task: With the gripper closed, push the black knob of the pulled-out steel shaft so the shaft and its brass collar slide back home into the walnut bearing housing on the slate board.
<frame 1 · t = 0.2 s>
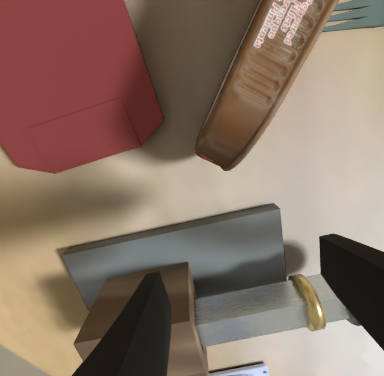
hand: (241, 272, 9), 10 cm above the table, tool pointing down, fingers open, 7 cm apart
bearing housing: (158, 289, 21), on the table
shaft: (257, 310, 17), point 5 cm above the table, slide at 8.0 cm
tin: (245, 62, 16), on the table
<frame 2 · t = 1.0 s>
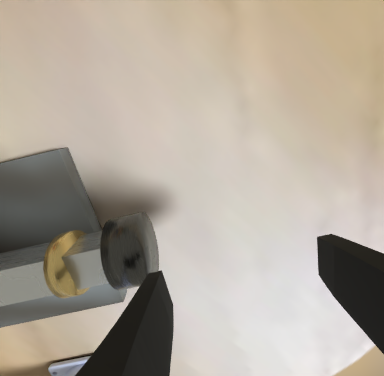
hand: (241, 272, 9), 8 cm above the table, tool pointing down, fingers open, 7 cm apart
shaft: (15, 275, 13), point 4 cm above the table, slide at 8.0 cm
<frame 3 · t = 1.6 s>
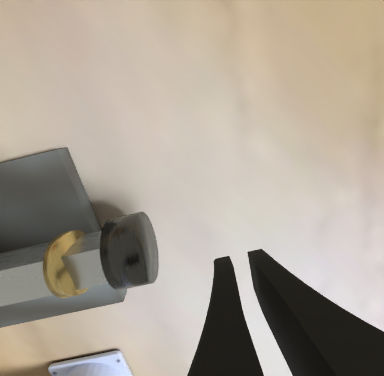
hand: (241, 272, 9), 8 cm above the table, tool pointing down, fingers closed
shaft: (14, 275, 13), point 5 cm above the table, slide at 8.0 cm
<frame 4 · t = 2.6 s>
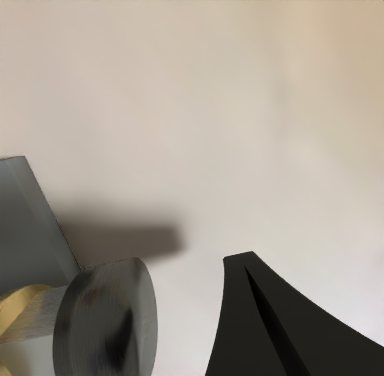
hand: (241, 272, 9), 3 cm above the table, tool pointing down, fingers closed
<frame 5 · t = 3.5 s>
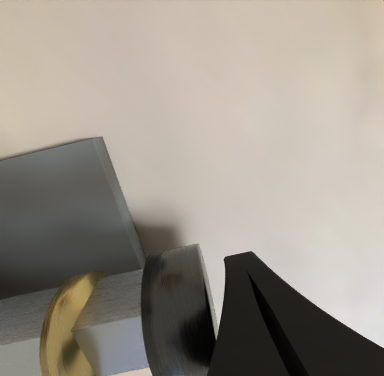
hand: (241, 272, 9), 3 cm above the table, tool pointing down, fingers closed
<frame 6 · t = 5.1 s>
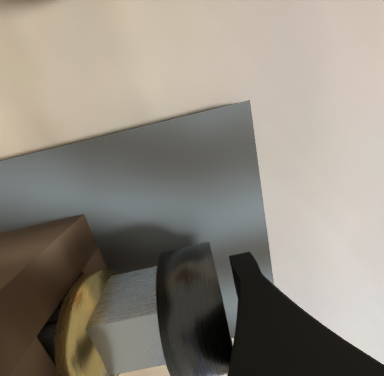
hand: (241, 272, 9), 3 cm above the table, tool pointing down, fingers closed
bearing housing: (53, 271, 13), on the table
shaft: (7, 342, 8), point 4 cm above the table, slide at -0.1 cm, touching gripper
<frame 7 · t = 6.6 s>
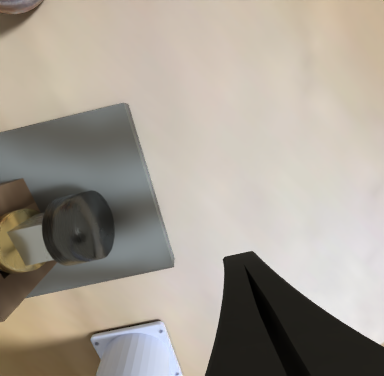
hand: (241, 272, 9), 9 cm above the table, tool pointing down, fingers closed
bearing housing: (9, 223, 18), on the table
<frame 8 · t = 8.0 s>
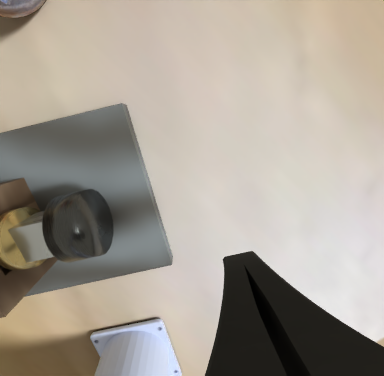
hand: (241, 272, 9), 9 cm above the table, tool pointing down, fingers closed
bearing housing: (10, 222, 18), on the table
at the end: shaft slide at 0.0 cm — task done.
